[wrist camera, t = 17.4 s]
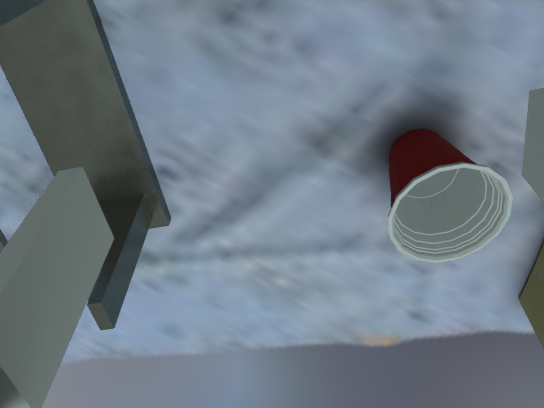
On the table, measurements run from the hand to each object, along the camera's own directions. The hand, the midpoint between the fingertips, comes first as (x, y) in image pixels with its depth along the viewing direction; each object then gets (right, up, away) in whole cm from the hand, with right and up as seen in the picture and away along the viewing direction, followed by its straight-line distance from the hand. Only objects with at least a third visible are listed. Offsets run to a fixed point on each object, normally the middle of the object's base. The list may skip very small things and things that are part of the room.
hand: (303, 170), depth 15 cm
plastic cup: (+14, +4, +39) cm, 42 cm away
